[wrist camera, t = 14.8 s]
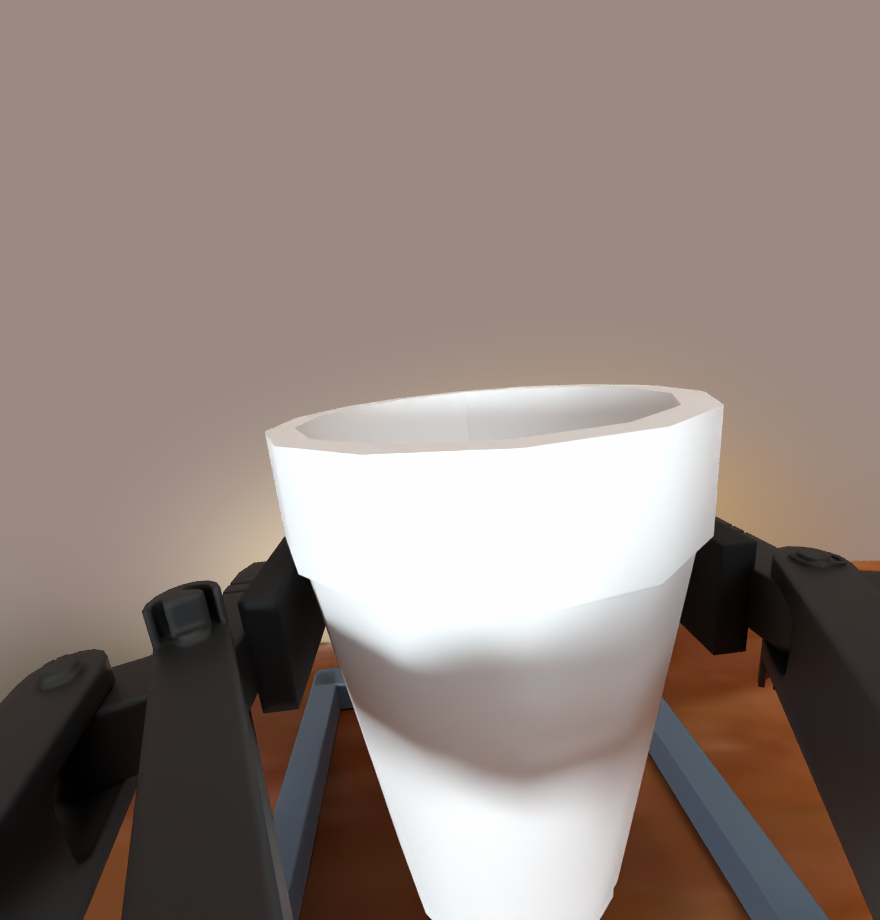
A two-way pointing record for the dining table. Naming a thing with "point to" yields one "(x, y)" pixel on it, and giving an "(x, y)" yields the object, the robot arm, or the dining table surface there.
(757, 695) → the dining table surface
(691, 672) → the dining table surface
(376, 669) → the foam cup
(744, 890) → the bay
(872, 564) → the dining table surface
